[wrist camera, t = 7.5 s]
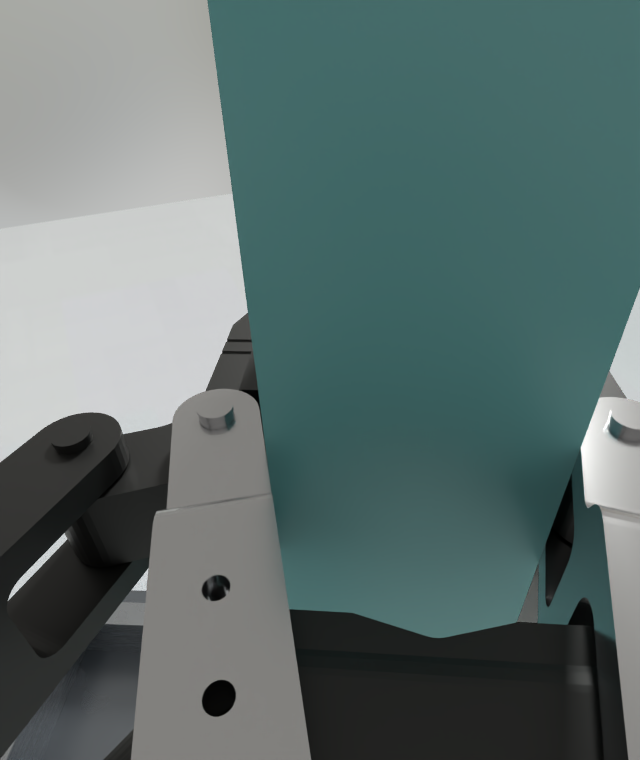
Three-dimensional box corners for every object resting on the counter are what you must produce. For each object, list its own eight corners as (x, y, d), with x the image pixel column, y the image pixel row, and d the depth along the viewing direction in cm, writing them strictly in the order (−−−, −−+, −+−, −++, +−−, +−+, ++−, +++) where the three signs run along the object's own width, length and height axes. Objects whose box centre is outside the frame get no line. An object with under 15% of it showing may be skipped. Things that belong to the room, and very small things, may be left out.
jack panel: (-58, 940, 17) (-118, 922, 15) (89, 601, 27) (66, 559, 25) (555, 990, 16) (589, 979, 14) (481, 616, 26) (493, 573, 23)
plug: (303, 738, 13) (150, -441, 3) (316, 589, 16) (265, -208, 6) (469, 751, 12) (940, -531, 3) (448, 596, 16) (620, -234, 6)
